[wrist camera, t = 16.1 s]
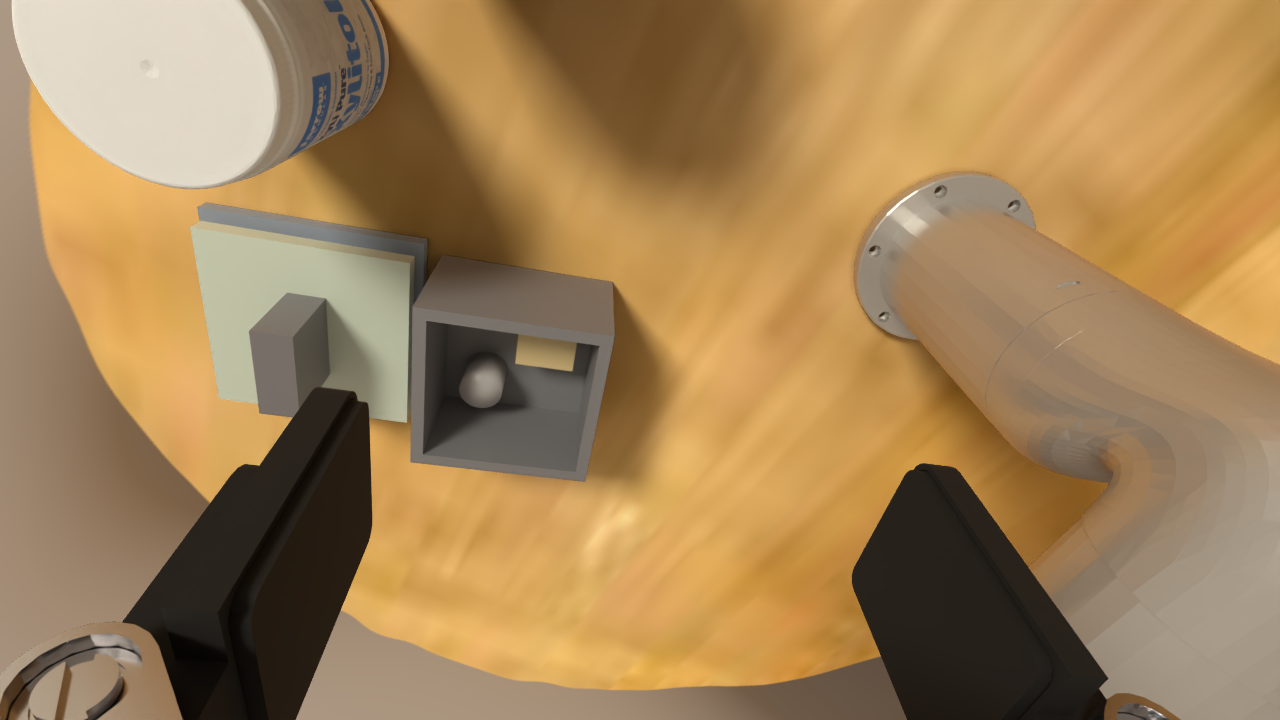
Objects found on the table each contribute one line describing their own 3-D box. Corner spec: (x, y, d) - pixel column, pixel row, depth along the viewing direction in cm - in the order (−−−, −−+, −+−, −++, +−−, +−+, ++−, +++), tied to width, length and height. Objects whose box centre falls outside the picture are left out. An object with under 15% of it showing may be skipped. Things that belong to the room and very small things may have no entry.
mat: (427, 238, 43) (424, 244, 42) (423, 403, 50) (420, 411, 49) (205, 202, 40) (197, 207, 40) (234, 379, 48) (227, 387, 47)
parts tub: (612, 282, 45) (614, 336, 38) (587, 414, 51) (585, 481, 44) (442, 254, 43) (412, 306, 36) (436, 395, 49) (410, 462, 42)
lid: (418, 250, 42) (386, 299, 36) (414, 405, 48) (386, 469, 42) (209, 215, 40) (136, 260, 34) (234, 381, 47) (177, 445, 40)
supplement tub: (411, 121, 39) (320, 190, 26) (257, 133, 38) (92, 209, 26) (364, -69, 34) (224, -94, 21) (187, -55, 33) (-60, -74, 21)
